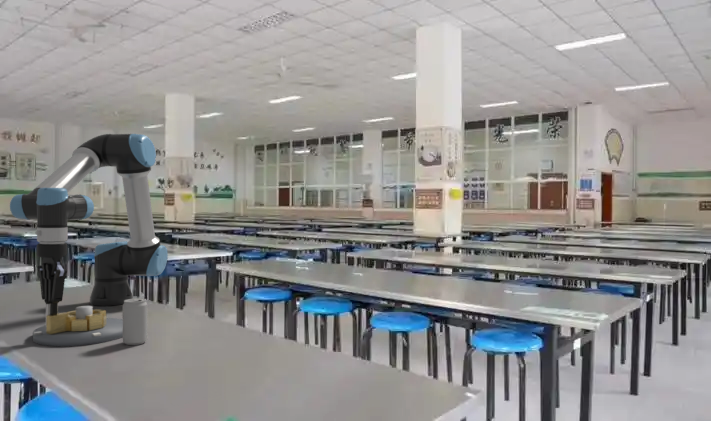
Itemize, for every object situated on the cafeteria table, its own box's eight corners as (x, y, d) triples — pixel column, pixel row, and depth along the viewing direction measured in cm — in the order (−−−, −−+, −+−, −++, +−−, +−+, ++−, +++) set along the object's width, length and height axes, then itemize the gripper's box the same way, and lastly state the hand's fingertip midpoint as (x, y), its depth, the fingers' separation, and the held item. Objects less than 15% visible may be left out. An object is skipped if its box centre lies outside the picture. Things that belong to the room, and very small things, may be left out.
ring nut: (90, 320, 167) (90, 304, 166) (113, 325, 161) (113, 308, 161) (37, 331, 153) (37, 313, 153) (60, 336, 147) (60, 318, 147)
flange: (115, 320, 177) (115, 296, 177) (145, 335, 158) (145, 308, 158) (24, 332, 160) (24, 305, 160) (44, 351, 140) (44, 321, 140)
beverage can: (138, 346, 146) (138, 302, 146) (117, 345, 147) (117, 301, 147) (152, 340, 152) (152, 298, 152) (131, 339, 154) (131, 297, 153)
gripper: (28, 241, 153) (27, 324, 153) (48, 244, 145) (47, 332, 145) (55, 240, 159) (55, 320, 159) (76, 243, 151) (76, 327, 151)
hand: (51, 325), depth 152 cm, fingers closed
